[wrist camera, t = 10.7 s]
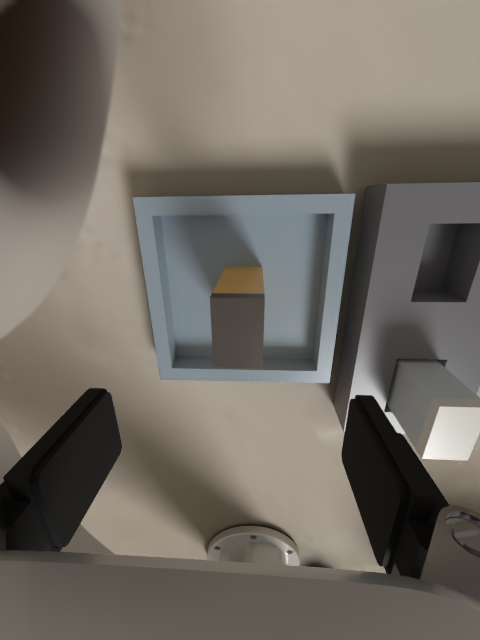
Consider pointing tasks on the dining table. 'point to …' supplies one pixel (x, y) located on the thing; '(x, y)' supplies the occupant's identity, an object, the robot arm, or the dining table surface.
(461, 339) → the fuse block
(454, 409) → the block
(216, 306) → the block
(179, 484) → the dining table surface
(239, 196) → the parts tray
